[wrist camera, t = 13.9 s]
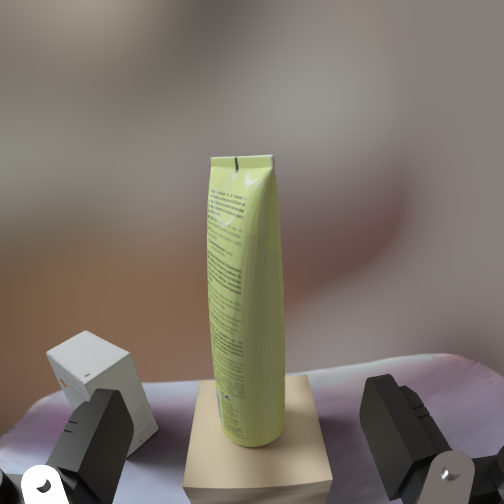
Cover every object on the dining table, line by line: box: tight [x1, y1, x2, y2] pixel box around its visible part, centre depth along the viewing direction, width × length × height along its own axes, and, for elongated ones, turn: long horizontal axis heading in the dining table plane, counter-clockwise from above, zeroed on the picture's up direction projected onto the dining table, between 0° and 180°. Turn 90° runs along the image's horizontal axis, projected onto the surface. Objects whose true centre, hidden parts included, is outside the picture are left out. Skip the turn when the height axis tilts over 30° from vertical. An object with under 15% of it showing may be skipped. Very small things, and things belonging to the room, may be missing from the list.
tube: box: [207, 155, 285, 447], centre depth 19 cm, size 6×5×20 cm
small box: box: [46, 330, 159, 458], centre depth 26 cm, size 8×6×10 cm
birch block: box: [182, 375, 333, 504], centre depth 22 cm, size 10×12×6 cm
